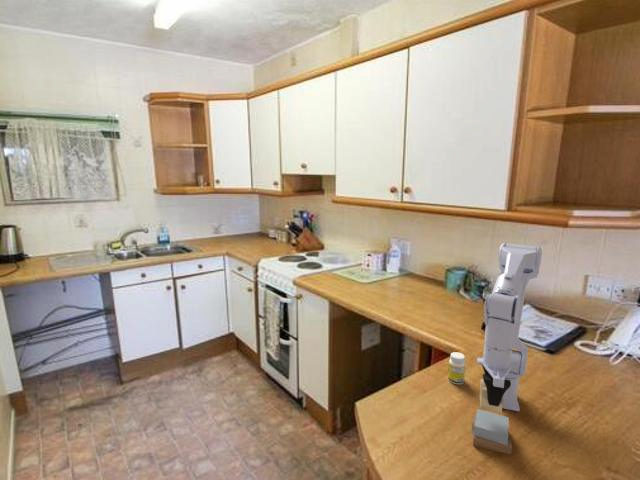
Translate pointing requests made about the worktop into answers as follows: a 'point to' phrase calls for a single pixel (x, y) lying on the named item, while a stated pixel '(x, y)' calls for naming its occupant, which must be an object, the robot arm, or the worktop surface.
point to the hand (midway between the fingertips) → (492, 398)
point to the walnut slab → (490, 442)
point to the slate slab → (491, 427)
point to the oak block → (484, 400)
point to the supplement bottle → (456, 368)
